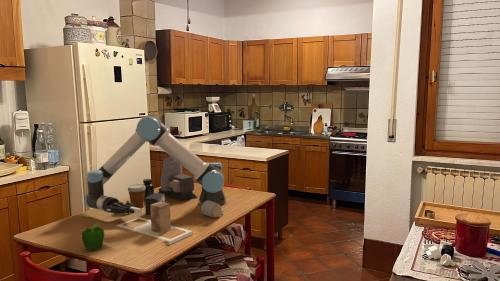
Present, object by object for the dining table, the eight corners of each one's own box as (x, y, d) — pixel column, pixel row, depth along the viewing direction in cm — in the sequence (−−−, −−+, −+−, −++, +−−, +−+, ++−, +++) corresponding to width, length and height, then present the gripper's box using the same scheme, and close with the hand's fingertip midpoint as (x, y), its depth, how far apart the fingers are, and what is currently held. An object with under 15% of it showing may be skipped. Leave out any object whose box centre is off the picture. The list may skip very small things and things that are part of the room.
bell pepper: (82, 254, 149) (81, 229, 148) (82, 246, 157) (81, 223, 155) (105, 250, 153) (104, 226, 151) (104, 243, 160) (103, 220, 159)
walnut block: (151, 230, 169) (150, 204, 168) (161, 226, 174) (160, 201, 173) (160, 233, 166) (159, 207, 164) (170, 229, 171) (169, 203, 169)
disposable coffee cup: (133, 211, 202) (131, 189, 201) (125, 207, 209) (124, 186, 208) (149, 207, 208) (148, 186, 207) (141, 203, 216) (140, 183, 214)
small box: (157, 219, 189) (156, 198, 188) (145, 218, 191) (144, 198, 189) (166, 212, 200) (165, 193, 198) (154, 211, 201) (153, 192, 200)
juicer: (153, 192, 240) (151, 154, 237) (175, 188, 250) (174, 151, 247) (177, 202, 217) (176, 160, 214) (201, 197, 228) (200, 157, 225)
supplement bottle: (139, 199, 223) (138, 180, 222) (149, 197, 229) (148, 177, 227) (147, 201, 219) (146, 181, 218) (156, 199, 224) (155, 179, 223)
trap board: (116, 228, 177) (115, 225, 176) (139, 220, 188) (139, 217, 188) (169, 244, 157) (169, 241, 157) (192, 234, 169) (192, 230, 169)
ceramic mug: (212, 220, 187) (212, 204, 186) (201, 216, 193) (200, 201, 192) (227, 215, 195) (227, 200, 194) (216, 211, 201) (216, 197, 200)
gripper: (119, 208, 195) (151, 216, 182) (97, 215, 184) (129, 224, 171) (118, 193, 194) (150, 200, 181) (96, 200, 183) (128, 207, 170)
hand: (140, 212), depth 176 cm, fingers closed
